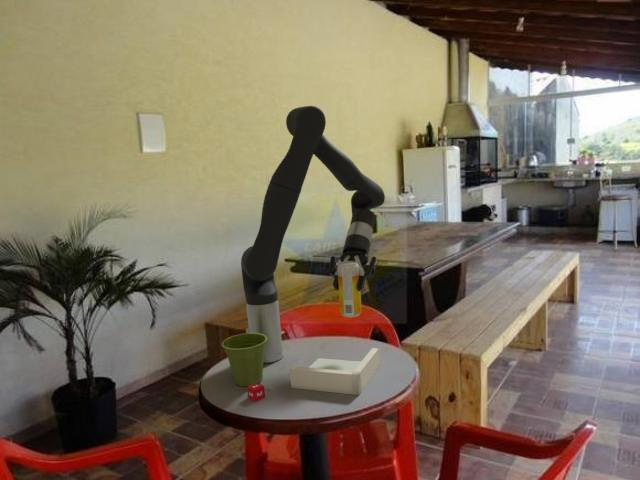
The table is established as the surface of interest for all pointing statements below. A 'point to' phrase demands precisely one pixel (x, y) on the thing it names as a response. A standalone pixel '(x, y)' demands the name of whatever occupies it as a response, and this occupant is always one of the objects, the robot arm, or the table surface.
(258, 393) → the dice
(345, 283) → the beer can
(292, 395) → the table surface
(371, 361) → the white corner tray
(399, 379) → the table surface
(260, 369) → the plant pot
